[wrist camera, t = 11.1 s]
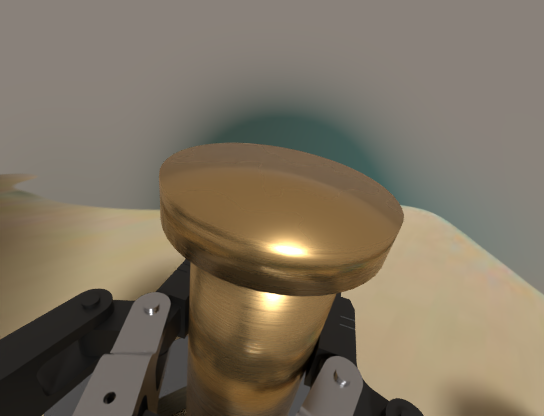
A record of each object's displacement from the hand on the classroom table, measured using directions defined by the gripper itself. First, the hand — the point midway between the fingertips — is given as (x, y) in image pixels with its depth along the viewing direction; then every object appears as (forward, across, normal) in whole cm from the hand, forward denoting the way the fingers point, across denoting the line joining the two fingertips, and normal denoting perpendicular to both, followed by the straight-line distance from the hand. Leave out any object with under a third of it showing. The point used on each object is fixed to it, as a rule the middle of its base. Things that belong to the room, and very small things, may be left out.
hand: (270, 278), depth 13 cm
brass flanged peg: (-3, 0, +8) cm, 8 cm away
